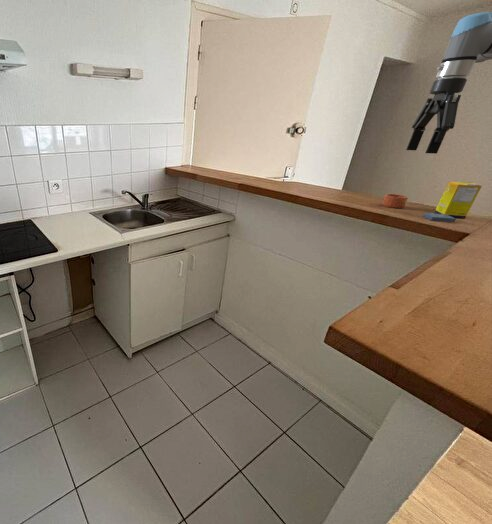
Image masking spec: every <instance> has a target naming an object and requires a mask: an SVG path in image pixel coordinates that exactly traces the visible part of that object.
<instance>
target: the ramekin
mask: <svg viewBox="0 0 492 524" xmlns="http://www.w3.org/2000/svg"><path fill="white" fill-rule="evenodd" d="M408 200H409V196H408V195H403V194H399V193H386V194H385V195H384V198H383V200H382V202H381V203H382V205H383V206H384V207H386V208H390V209H403V208H405V207H406V204H407V202H408Z"/></svg>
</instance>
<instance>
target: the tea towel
mask: <svg viewBox="0 0 492 524" xmlns="http://www.w3.org/2000/svg"><path fill="white" fill-rule="evenodd" d="M423 217H424V218H426V219H427V220H430V221H435V222H436V221H437V222H445V223H446V222H447V223H455V222H456V220H457V218H456V217H451V216H449V215H446V214H437V213H435V212H433V213H431V212H424V214H423Z"/></svg>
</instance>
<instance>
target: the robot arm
mask: <svg viewBox="0 0 492 524" xmlns="http://www.w3.org/2000/svg"><path fill="white" fill-rule="evenodd" d="M489 60H492V11H482V12H477V13H473V14H469V15H466V16H464V17H462V18H460V20H459V21H458V22H457V24H456V26H455V27H454V30H453V32H452V34H451V36H450V37H449V42H448V44H447V47H446V50H445V53H444V55H443V58H442V60H441V63H440V65H439V66H438V67H437V68H436V70H437V73H436V76H435V79H436V80H434V81H433V83H432V85H431V87H430V90H429V94H430V95H434V96H433V97H428V98H427V99H426V101H425V103H424V106H423V107H422V109H421V111H420V112H419V114H418V116H417V117H416V119H415V120H414V122H413V124H412V125H411V129H412V130H413V132H412V135H411V137H410V139H409V142H408V145H407V147H406V149H405V151H417V150H418V147H419V144H420V143H421V140H422V137H423V135H424V132H425V131H426V126H427V125H428V124H429V123H430V122H431V121H432V119H433V118H434V117H435V115H436V128H434V130H433V134H432V136H431V138H430V140H429V142H428V146H427V148H426V150H425V152H424V153H425V154H436V155H437V154H438V152H439V150H440V148H441V146H442V143H443V141H444V138H445V136H446V134H447V132H449V130H453V129H454V127H455V123H456V119H457V114H458V107H459V103H460V100H461V97H462V94H461V93H462V92H463V91H464V88H465V86H466V83H467V81H468V79H467V77H469V76H470V75H471V73H472V71H473V68H474V66H475V64H478V63H483V62H486V61H489Z"/></svg>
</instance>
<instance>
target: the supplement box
mask: <svg viewBox="0 0 492 524" xmlns="http://www.w3.org/2000/svg"><path fill="white" fill-rule="evenodd" d="M482 188H483V185H482V184H480V183H479V184H478V183H474V182H471V181H470V182H467V181H451V180H450V181H448V182H447V185H446V186H445V189H444V191H443V193H442V195H441V197H440V200H439V201H438V204H437V206H436V208H435V210H434V214H446V215H449V216H451V217H453V218H456V219H458V218H460V219H466V218H467V216H468V213H469V212H470V211H471V208H472V206H473V204H474V203H475V200H476V199H477V196H478V194H479V192H480V191H481V189H482Z"/></svg>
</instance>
